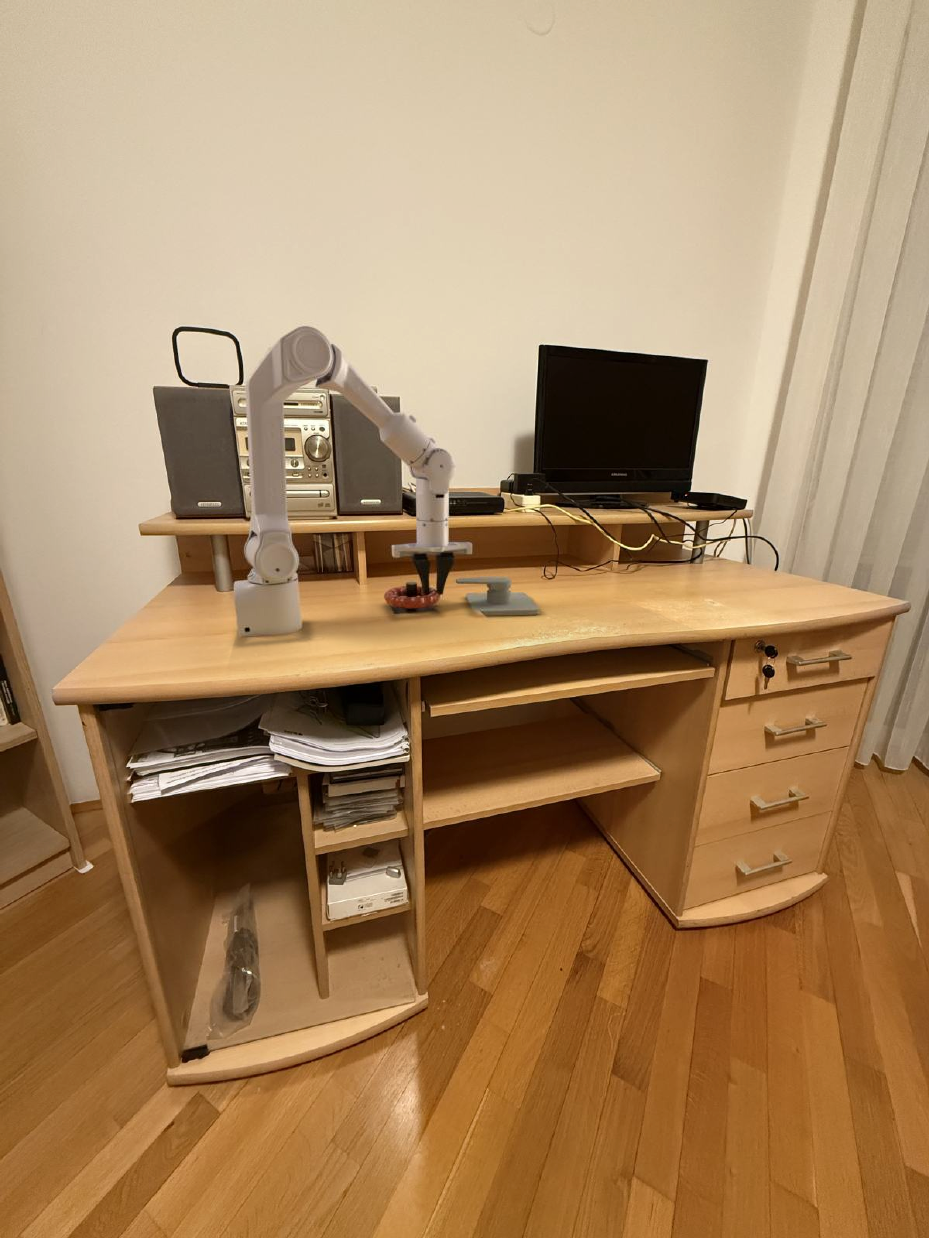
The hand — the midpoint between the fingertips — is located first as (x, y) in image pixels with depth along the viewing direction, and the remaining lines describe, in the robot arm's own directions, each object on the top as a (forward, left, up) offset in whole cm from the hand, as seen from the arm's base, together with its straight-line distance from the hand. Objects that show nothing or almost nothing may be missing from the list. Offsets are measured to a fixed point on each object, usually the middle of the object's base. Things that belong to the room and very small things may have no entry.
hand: (432, 593), depth 91 cm
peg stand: (-4, 0, -3) cm, 5 cm away
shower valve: (+12, -1, -3) cm, 12 cm away
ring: (-4, 0, 0) cm, 4 cm away
